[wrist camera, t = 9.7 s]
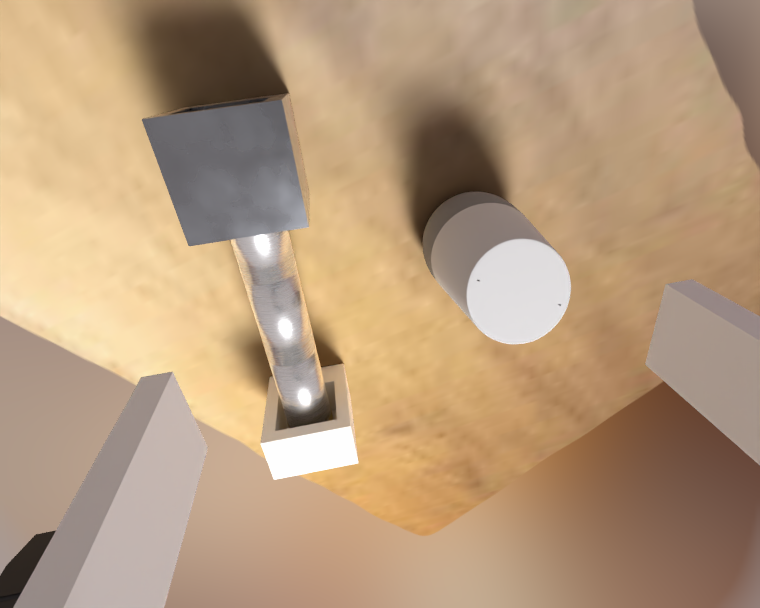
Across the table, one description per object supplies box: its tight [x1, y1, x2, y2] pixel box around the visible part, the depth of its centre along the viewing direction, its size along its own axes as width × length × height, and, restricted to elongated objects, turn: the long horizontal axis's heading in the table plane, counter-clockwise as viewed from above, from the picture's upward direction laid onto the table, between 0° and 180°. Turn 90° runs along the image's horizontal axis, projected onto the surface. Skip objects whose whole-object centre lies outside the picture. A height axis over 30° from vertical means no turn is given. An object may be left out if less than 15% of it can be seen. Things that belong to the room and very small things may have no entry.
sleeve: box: [142, 93, 309, 246], centre depth 31 cm, size 8×8×9 cm
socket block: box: [261, 363, 358, 480], centre depth 43 cm, size 5×8×10 cm, turn 97°
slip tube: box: [231, 231, 334, 428], centre depth 37 cm, size 26×4×4 cm, turn 7°
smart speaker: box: [423, 192, 571, 344], centre depth 35 cm, size 10×9×14 cm
